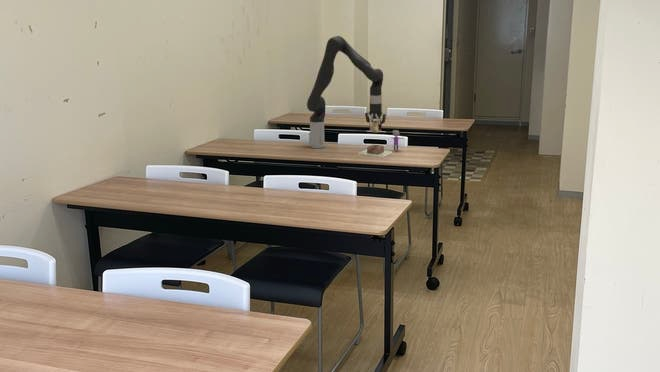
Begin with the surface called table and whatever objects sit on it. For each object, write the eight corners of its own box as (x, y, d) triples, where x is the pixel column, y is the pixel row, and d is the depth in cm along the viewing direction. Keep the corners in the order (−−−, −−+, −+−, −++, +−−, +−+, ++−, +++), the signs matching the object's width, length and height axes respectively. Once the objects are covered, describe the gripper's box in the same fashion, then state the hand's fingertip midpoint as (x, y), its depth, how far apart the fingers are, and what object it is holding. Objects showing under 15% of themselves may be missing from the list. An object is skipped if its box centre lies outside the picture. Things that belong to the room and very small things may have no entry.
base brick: (366, 153, 386) (366, 147, 385) (372, 150, 393) (372, 144, 392) (378, 154, 382) (378, 148, 381) (383, 151, 389) (384, 145, 388)
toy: (404, 152, 393) (404, 128, 389) (404, 154, 388) (404, 130, 383) (387, 151, 394) (387, 128, 390) (387, 154, 389) (387, 130, 384)
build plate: (357, 155, 386) (357, 152, 386) (367, 150, 398) (367, 147, 397) (384, 158, 378) (384, 155, 377) (393, 153, 390) (393, 150, 389)
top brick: (370, 131, 383) (370, 121, 381) (373, 130, 387) (373, 119, 385) (377, 132, 380) (377, 121, 378) (380, 130, 384) (380, 120, 382)
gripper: (362, 102, 379) (362, 129, 383) (383, 104, 372) (383, 131, 377) (367, 100, 385) (367, 127, 390) (388, 102, 378) (388, 129, 383)
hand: (375, 129), depth 383 cm, fingers closed on top brick, 5 cm apart
